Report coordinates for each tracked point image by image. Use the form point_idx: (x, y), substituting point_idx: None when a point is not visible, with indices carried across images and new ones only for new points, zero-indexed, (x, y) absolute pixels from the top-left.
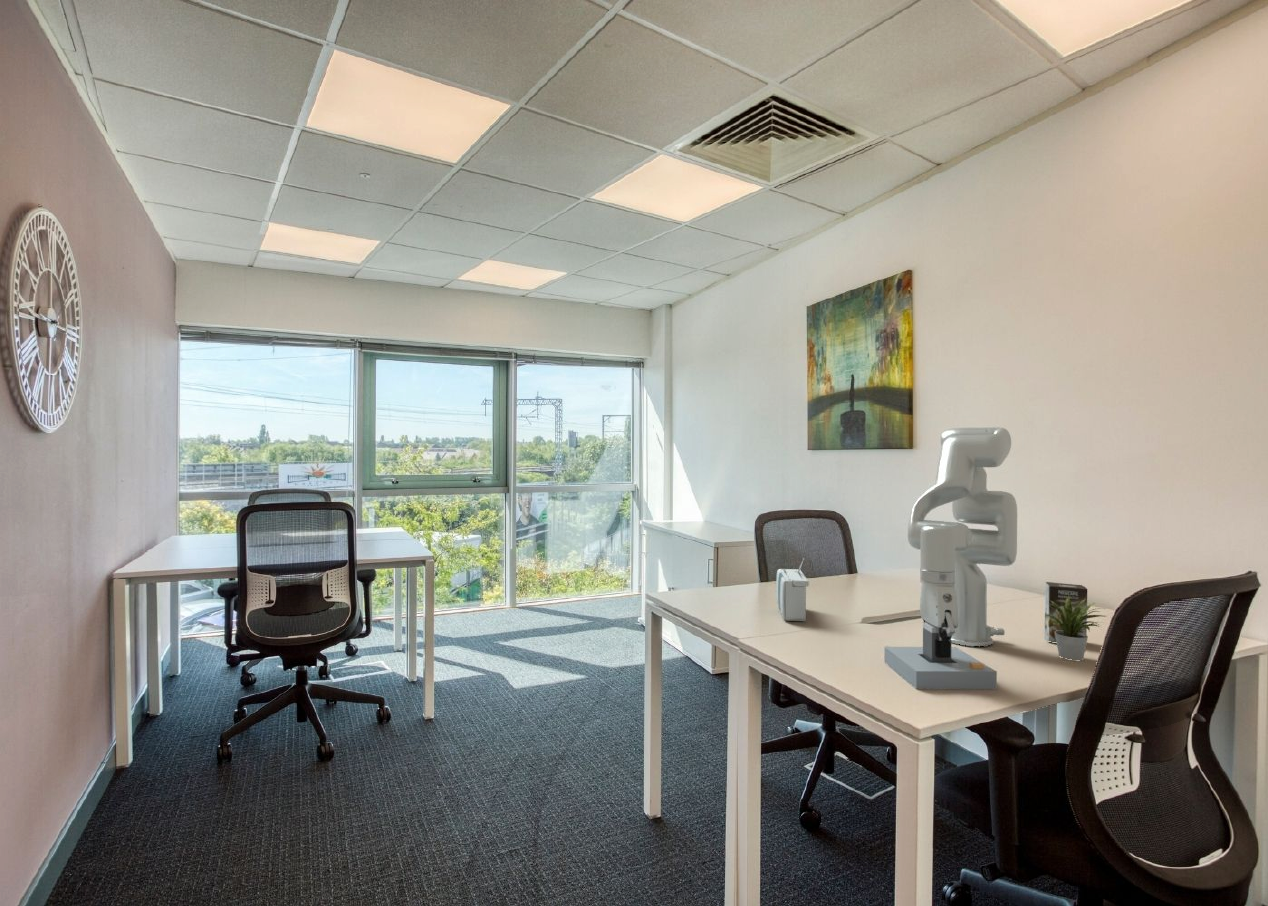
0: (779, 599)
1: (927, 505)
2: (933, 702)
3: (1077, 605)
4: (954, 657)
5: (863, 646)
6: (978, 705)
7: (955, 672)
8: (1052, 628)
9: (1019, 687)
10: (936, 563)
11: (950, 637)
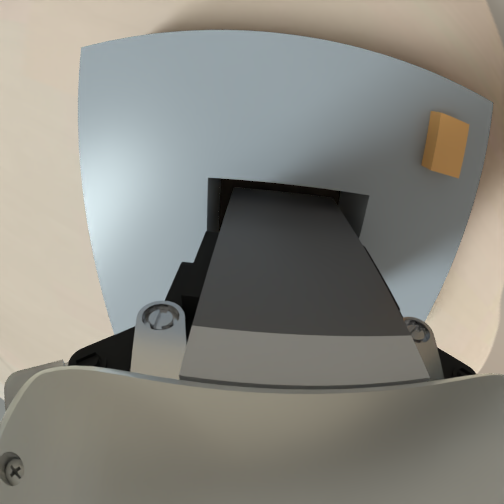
0: None
1: None
2: (446, 334)
3: None
4: (277, 150)
5: (21, 298)
6: (499, 249)
7: (444, 272)
8: None
9: (433, 2)
10: None
11: (452, 360)
